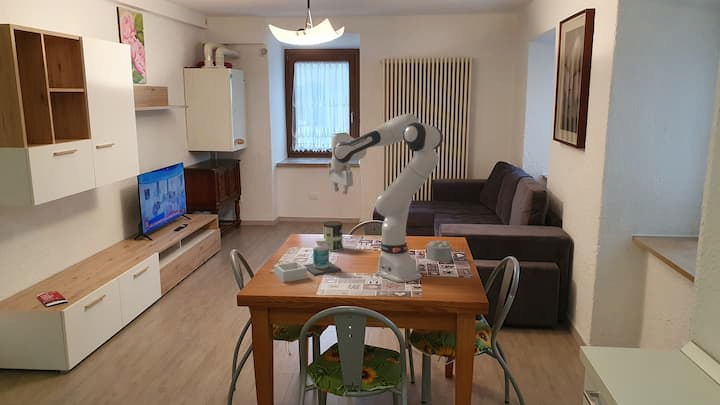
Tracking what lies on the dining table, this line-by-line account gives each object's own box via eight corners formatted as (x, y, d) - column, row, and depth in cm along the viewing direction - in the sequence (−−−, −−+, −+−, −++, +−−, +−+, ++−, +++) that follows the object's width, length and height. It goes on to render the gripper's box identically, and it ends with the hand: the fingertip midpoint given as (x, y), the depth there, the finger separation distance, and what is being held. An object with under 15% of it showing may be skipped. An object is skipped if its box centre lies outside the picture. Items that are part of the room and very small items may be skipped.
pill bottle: (317, 270, 261) (316, 242, 258) (311, 266, 267) (310, 238, 264) (331, 268, 264) (331, 240, 261) (325, 263, 271) (324, 236, 268)
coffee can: (343, 246, 304) (342, 221, 301) (342, 251, 294) (342, 225, 291) (324, 246, 304) (323, 221, 302) (322, 251, 294) (322, 225, 291)
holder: (307, 278, 253) (306, 267, 252) (283, 282, 248) (283, 271, 247) (297, 271, 263) (297, 261, 262) (274, 275, 257) (274, 264, 256)
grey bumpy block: (440, 253, 289) (440, 237, 288) (456, 260, 278) (457, 243, 277) (424, 257, 284) (424, 240, 282) (440, 263, 273) (440, 246, 272)
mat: (341, 270, 263) (341, 268, 263) (314, 275, 257) (314, 273, 256) (328, 262, 275) (328, 260, 275) (302, 267, 269) (302, 265, 268)
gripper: (356, 167, 269) (356, 195, 272) (337, 162, 287) (337, 189, 290) (344, 168, 266) (344, 196, 269) (326, 163, 284) (326, 190, 287)
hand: (340, 192), depth 280 cm, fingers open, 8 cm apart
